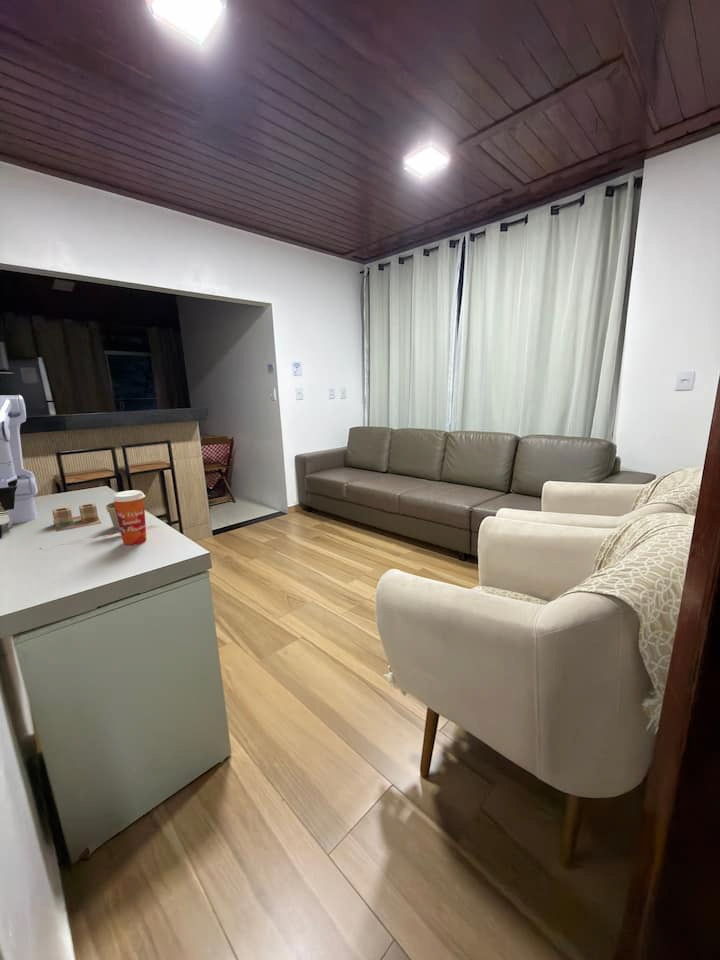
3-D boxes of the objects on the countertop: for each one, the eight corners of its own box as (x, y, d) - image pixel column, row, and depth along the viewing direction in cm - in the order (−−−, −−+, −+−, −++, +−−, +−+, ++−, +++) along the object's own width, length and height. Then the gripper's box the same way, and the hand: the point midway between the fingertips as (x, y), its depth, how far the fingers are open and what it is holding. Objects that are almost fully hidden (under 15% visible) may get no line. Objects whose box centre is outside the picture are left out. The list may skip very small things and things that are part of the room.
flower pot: (131, 534, 118) (127, 508, 116) (101, 534, 118) (97, 508, 116) (148, 524, 127) (144, 499, 125) (120, 524, 128) (117, 499, 126)
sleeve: (54, 524, 124) (51, 509, 123) (71, 521, 127) (68, 506, 126) (56, 527, 121) (53, 512, 120) (73, 524, 124) (70, 509, 123)
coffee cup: (117, 548, 107) (109, 498, 104) (120, 539, 114) (113, 491, 111) (150, 543, 111) (144, 494, 108) (151, 534, 118) (145, 488, 115)
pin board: (53, 523, 128) (51, 509, 127) (96, 516, 135) (93, 502, 134) (56, 535, 117) (53, 519, 116) (102, 526, 125) (99, 511, 124)
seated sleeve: (81, 519, 129) (78, 505, 127) (96, 516, 131) (94, 503, 130) (82, 522, 125) (80, 508, 124) (98, 519, 128) (96, 505, 127)
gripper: (-18, 461, 113) (-8, 504, 116) (-22, 467, 103) (-11, 515, 106) (14, 458, 118) (22, 499, 121) (13, 464, 107) (22, 510, 110)
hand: (9, 506), depth 113 cm, fingers open, 7 cm apart
